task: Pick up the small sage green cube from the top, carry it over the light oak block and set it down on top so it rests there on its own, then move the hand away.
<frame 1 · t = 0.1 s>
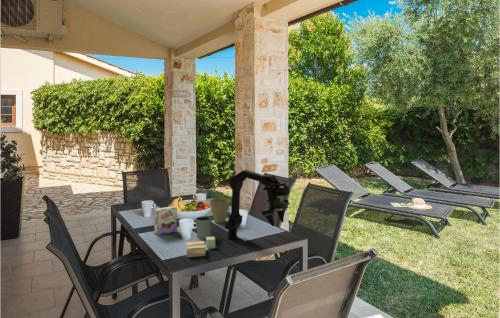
hand: (277, 224, 195), 15 cm above the table, tool pointing down, fingers open, 9 cm apart
grey green cup: (203, 236, 220), on the table
oak block: (195, 253, 192), on the table
sage cube: (210, 246, 203), on the table
candy box: (165, 232, 228), on the table
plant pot: (220, 221, 252), on the table
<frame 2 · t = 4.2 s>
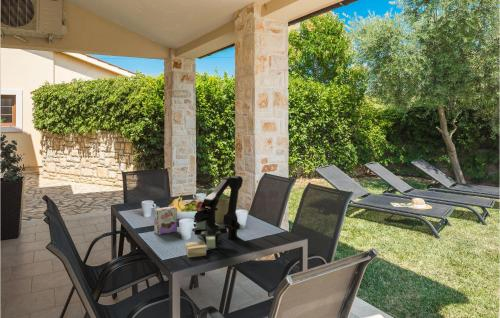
hand: (210, 244, 202), 1 cm above the table, tool pointing down, fingers closed on sage cube, 5 cm apart
sage cube: (210, 246, 203), on the table, touching gripper
everything else where it was.
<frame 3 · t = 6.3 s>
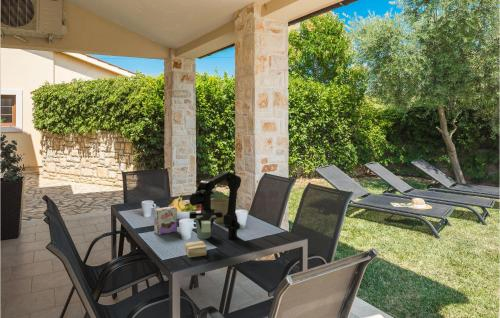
hand: (205, 229, 198), 11 cm above the table, tool pointing down, fingers closed on sage cube, 5 cm apart
sage cube: (205, 230, 198), point 10 cm above the table, touching gripper
everything else where it was.
when the fingers open (7 cm above the table, at t = 8.4 s): sage cube drops 1 cm, resting on oak block.
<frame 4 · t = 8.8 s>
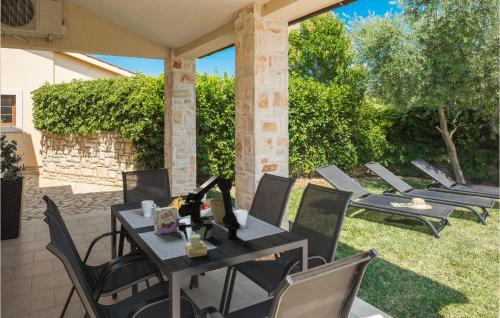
hand: (195, 240, 191), 7 cm above the table, tool pointing down, fingers open, 9 cm apart
oak block: (195, 253, 192), on the table, touching sage cube
sage cube: (195, 244, 192), point 5 cm above the table, touching oak block
everything else where it was.
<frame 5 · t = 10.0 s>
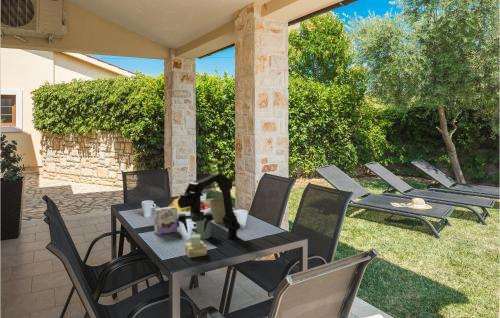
hand: (195, 232, 191), 12 cm above the table, tool pointing down, fingers open, 9 cm apart
oak block: (195, 253, 192), on the table
sage cube: (195, 244, 192), point 5 cm above the table
everything else where it was.
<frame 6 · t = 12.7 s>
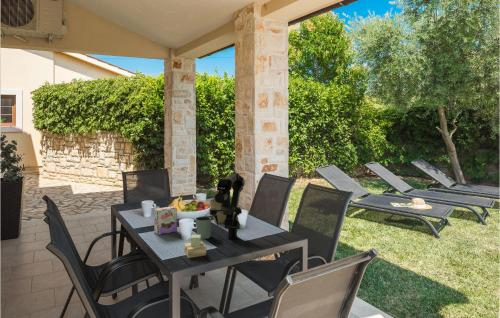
hand: (225, 225, 204), 12 cm above the table, tool pointing down, fingers open, 9 cm apart
oak block: (195, 253, 192), on the table, touching sage cube
sage cube: (195, 244, 191), point 5 cm above the table, touching oak block
everything else where it was.
at the end: sage cube 0.6 cm off-centre on the oak block, point 5.0 cm above the oak block's base; sage cube tilted 0°; the gripper is holding nothing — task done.
